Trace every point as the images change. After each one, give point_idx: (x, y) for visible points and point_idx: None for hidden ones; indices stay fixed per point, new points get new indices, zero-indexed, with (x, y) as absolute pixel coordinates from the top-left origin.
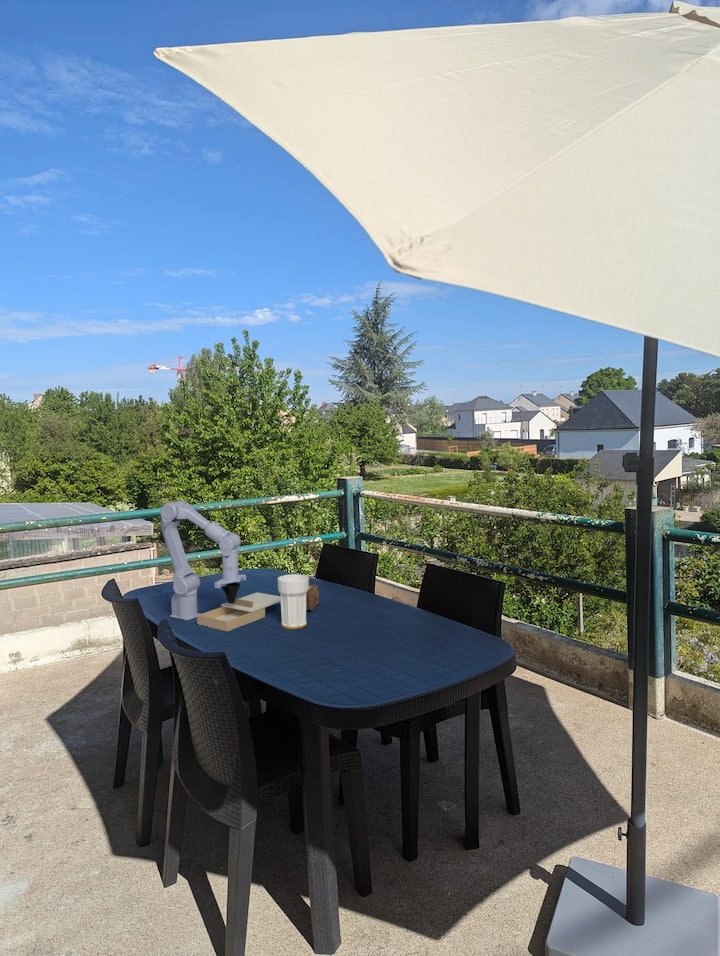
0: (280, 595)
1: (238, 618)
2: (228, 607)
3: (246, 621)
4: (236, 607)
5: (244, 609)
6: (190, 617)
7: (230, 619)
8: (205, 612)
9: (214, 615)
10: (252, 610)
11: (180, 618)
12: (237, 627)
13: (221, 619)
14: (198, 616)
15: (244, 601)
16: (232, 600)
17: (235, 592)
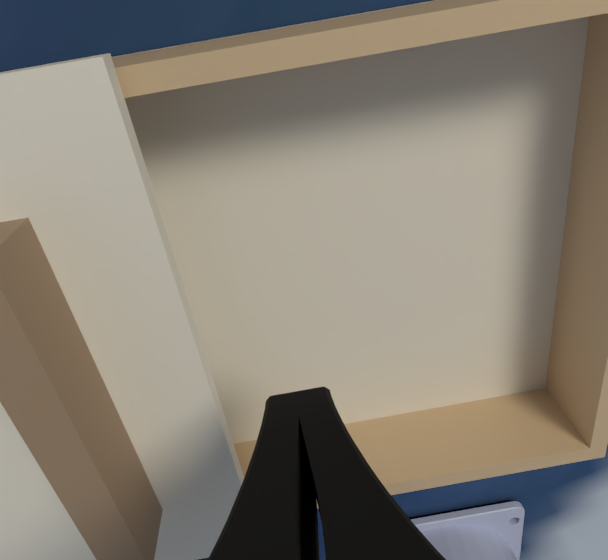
0: None
1: (437, 9)
2: (236, 457)
3: (247, 34)
4: (199, 372)
5: (160, 227)
6: (475, 525)
7: (291, 297)
8: (490, 476)
9: (369, 439)
10: (83, 59)
11: (519, 547)
12: (421, 3)
13: (351, 354)
14: (602, 435)
15: (55, 388)
16: (334, 418)
17: (273, 556)
